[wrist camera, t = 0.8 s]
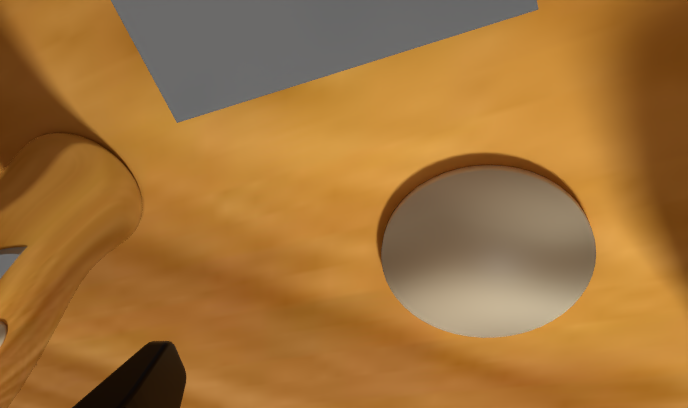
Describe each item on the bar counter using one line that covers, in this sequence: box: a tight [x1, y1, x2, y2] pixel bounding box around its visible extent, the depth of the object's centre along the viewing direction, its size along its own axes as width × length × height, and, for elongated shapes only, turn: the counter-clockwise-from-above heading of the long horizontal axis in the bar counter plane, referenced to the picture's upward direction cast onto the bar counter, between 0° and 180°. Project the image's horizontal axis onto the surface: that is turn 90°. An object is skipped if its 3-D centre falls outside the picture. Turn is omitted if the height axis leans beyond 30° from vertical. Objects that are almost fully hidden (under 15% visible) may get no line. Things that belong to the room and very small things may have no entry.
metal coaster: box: [381, 165, 596, 338], centre depth 25 cm, size 9×9×1 cm
